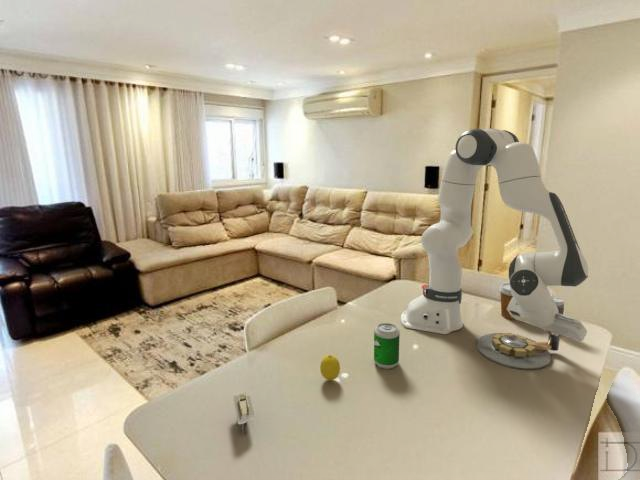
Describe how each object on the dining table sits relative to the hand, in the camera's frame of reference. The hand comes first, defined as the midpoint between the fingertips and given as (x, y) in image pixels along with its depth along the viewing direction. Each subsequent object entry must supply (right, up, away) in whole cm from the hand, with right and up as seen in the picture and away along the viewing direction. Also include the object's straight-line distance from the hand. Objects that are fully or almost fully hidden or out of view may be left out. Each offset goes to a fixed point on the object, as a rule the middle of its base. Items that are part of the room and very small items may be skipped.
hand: (551, 332), depth 115 cm
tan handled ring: (-6, -6, +3) cm, 9 cm away
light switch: (-90, -16, -25) cm, 95 cm away
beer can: (+10, -4, +17) cm, 20 cm away
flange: (-10, -7, +4) cm, 13 cm away
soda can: (-51, -10, -1) cm, 52 cm away
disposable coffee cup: (+2, -1, +29) cm, 29 cm away
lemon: (-69, -12, -9) cm, 70 cm away
